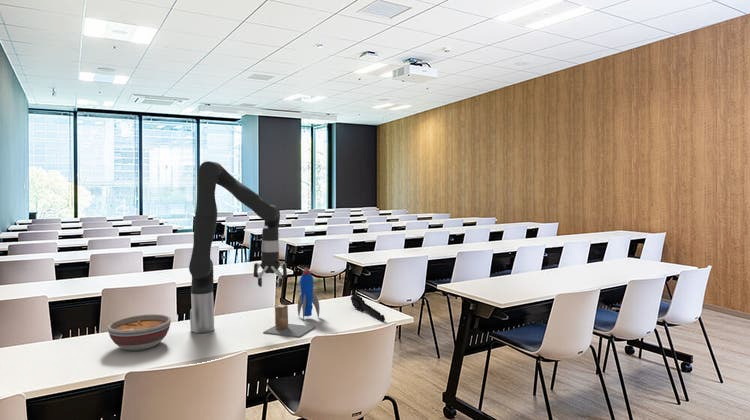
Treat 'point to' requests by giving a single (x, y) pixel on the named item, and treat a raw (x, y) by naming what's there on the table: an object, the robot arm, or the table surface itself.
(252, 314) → the table surface
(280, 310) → the walnut block
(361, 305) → the black long tapered piece
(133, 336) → the bowl
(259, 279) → the robot arm
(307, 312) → the toy rocket
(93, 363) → the table surface
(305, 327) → the rubber mat
